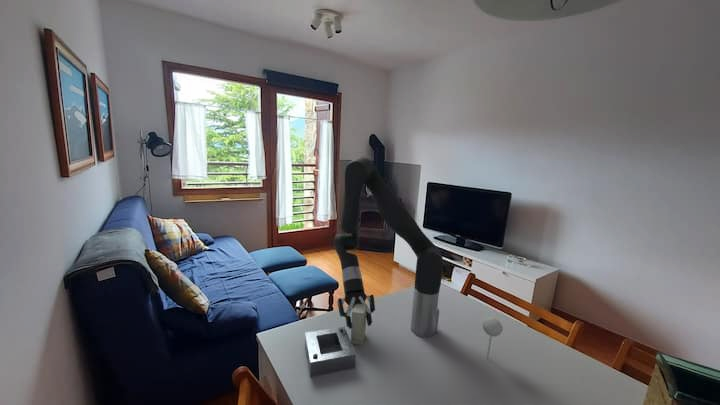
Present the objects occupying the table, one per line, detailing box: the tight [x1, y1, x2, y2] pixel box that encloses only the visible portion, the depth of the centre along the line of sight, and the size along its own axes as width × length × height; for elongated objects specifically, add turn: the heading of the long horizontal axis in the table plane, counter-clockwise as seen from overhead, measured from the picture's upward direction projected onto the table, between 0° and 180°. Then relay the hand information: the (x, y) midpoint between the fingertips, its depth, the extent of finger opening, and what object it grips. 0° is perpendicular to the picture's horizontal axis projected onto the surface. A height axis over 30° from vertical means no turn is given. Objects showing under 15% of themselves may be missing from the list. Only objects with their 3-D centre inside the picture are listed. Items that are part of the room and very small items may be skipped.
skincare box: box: [350, 304, 368, 346], centre depth 99 cm, size 6×4×12 cm
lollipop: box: [481, 316, 504, 360], centre depth 93 cm, size 6×6×15 cm
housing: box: [304, 326, 357, 378], centre depth 91 cm, size 14×14×5 cm
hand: (360, 326), depth 98 cm, fingers closed on skincare box, 6 cm apart
